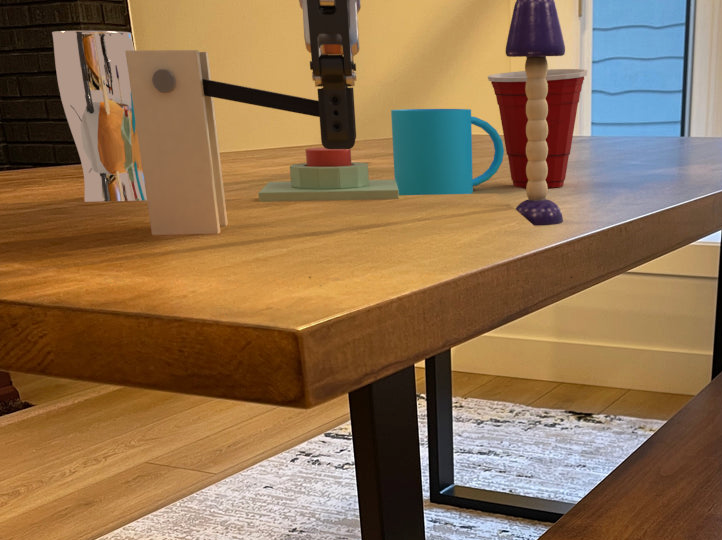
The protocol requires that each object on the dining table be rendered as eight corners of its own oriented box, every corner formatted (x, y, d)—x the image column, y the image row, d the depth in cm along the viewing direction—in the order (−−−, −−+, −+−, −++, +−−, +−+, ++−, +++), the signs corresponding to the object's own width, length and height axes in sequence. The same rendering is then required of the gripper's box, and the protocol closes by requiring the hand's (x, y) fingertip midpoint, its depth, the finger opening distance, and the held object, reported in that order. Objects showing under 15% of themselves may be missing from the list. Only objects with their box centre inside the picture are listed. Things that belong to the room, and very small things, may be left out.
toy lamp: (564, 226, 81) (567, -5, 74) (507, 227, 81) (505, -5, 74) (561, 219, 85) (564, -1, 78) (506, 219, 85) (505, 0, 78)
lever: (348, 131, 72) (352, 95, 71) (347, 135, 67) (351, 96, 66) (157, 95, 69) (158, 58, 68) (140, 96, 64) (142, 56, 63)
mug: (408, 198, 100) (404, 111, 97) (386, 191, 107) (381, 109, 104) (518, 193, 105) (517, 109, 101) (490, 186, 111) (489, 107, 108)
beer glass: (165, 210, 93) (140, 31, 87) (86, 215, 90) (55, 29, 84) (149, 203, 98) (125, 34, 92) (74, 207, 95) (44, 33, 89)
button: (305, 171, 88) (304, 150, 88) (308, 167, 92) (306, 147, 91) (351, 170, 89) (350, 149, 88) (352, 167, 92) (350, 147, 92)
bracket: (278, 238, 75) (260, 52, 70) (267, 258, 67) (245, 49, 62) (127, 242, 74) (98, 53, 69) (97, 262, 66) (61, 49, 61)
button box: (260, 218, 87) (255, 170, 85) (271, 205, 96) (266, 161, 94) (399, 215, 88) (397, 168, 86) (396, 203, 97) (394, 159, 95)
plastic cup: (469, 187, 111) (466, 69, 106) (526, 179, 119) (526, 69, 114) (549, 193, 105) (550, 68, 100) (604, 184, 113) (607, 68, 108)
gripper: (270, -121, 69) (292, 141, 75) (246, -168, 56) (276, 153, 62) (379, -119, 70) (392, 140, 76) (382, -165, 56) (396, 152, 63)
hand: (340, 144), depth 69 cm, fingers closed on lever, 5 cm apart
